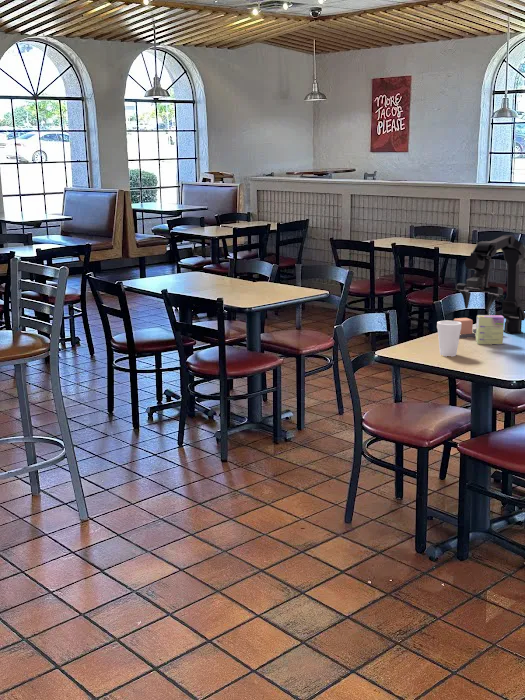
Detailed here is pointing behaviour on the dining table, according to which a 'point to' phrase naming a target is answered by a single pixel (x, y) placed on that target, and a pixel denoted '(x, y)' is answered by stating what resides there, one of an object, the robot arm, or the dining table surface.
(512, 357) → the dining table surface
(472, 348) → the dining table surface
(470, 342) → the dining table surface
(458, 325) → the foam cup
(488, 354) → the dining table surface
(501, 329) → the box
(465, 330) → the terracotta block
